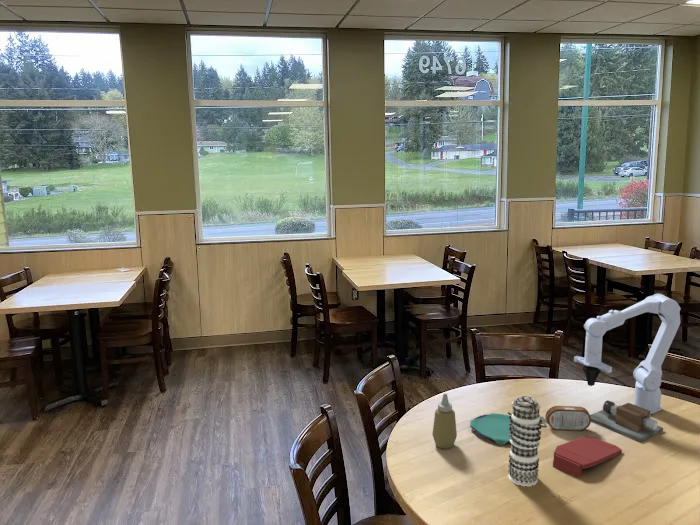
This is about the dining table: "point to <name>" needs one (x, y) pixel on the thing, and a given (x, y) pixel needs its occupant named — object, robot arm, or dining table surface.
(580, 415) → the tin
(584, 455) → the red bent panel
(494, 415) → the green flat slab
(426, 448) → the dining table surface
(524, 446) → the decorative candle
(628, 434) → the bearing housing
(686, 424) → the dining table surface
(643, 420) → the shaft
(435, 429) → the squeeze bottle
